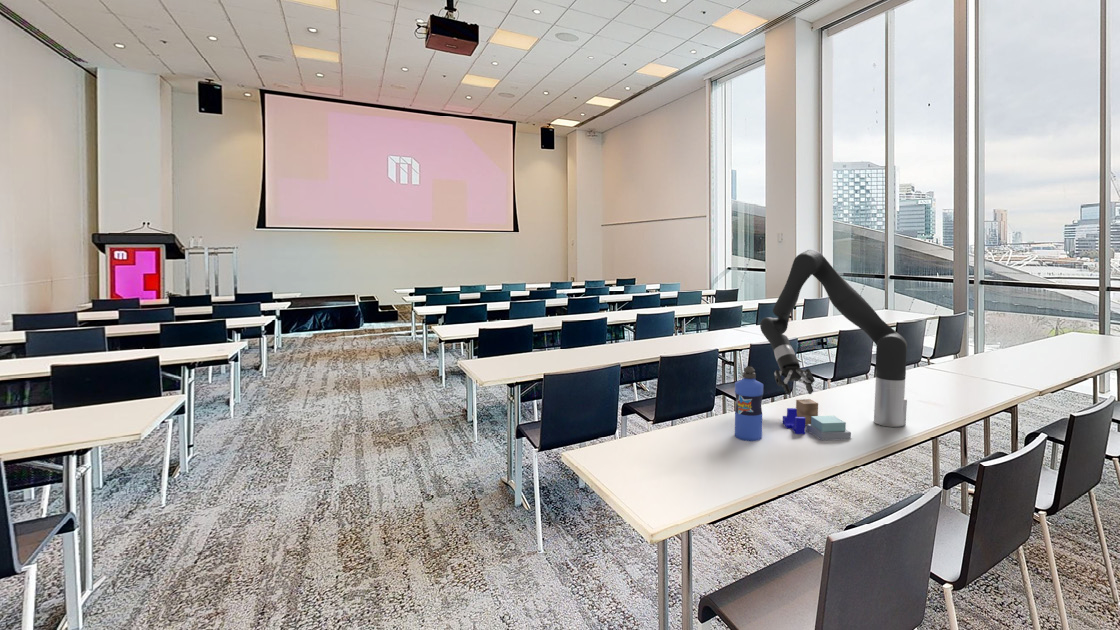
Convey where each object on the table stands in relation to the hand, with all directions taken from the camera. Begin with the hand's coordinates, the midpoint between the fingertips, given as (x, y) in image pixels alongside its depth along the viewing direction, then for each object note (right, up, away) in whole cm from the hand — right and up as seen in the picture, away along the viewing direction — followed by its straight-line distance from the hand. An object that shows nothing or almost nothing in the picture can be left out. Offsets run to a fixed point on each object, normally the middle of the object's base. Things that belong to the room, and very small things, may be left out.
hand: (800, 393), depth 204 cm
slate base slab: (+2, -12, -18) cm, 22 cm away
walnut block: (+1, -10, -4) cm, 11 cm away
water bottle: (-26, -13, -18) cm, 34 cm away
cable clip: (-7, -12, -11) cm, 17 cm away
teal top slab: (+2, -9, -18) cm, 20 cm away
